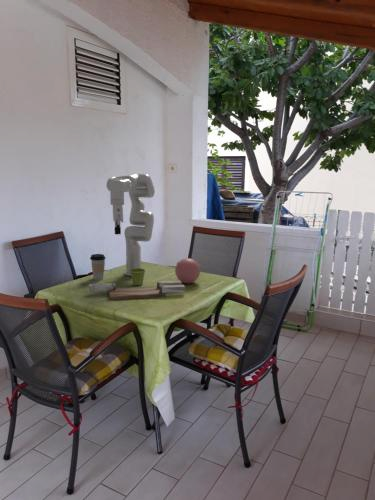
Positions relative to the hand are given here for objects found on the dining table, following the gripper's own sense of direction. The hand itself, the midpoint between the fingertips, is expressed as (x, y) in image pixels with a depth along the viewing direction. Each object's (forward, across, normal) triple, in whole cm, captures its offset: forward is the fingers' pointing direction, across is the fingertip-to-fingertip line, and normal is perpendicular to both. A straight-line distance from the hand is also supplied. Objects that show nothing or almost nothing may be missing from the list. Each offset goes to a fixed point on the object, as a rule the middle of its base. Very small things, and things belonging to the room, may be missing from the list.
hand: (117, 234), depth 231 cm
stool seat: (+32, -15, -14) cm, 38 cm away
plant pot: (+32, +4, -12) cm, 35 cm away
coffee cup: (+32, +20, +10) cm, 40 cm away
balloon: (+32, +4, -42) cm, 53 cm away
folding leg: (+30, -9, +10) cm, 33 cm away
